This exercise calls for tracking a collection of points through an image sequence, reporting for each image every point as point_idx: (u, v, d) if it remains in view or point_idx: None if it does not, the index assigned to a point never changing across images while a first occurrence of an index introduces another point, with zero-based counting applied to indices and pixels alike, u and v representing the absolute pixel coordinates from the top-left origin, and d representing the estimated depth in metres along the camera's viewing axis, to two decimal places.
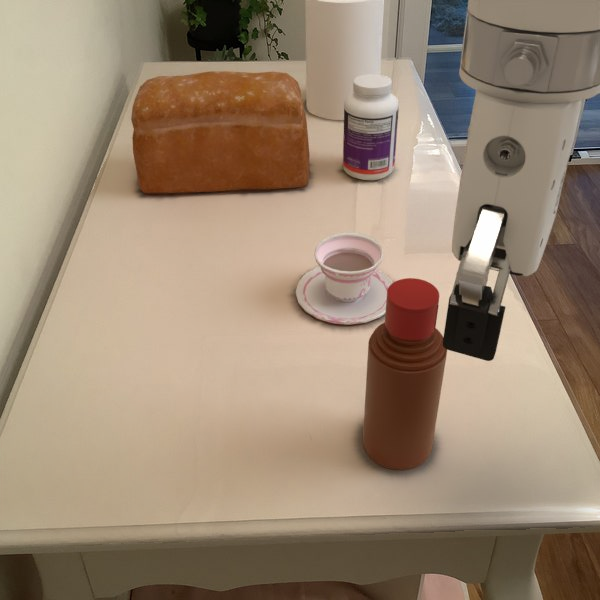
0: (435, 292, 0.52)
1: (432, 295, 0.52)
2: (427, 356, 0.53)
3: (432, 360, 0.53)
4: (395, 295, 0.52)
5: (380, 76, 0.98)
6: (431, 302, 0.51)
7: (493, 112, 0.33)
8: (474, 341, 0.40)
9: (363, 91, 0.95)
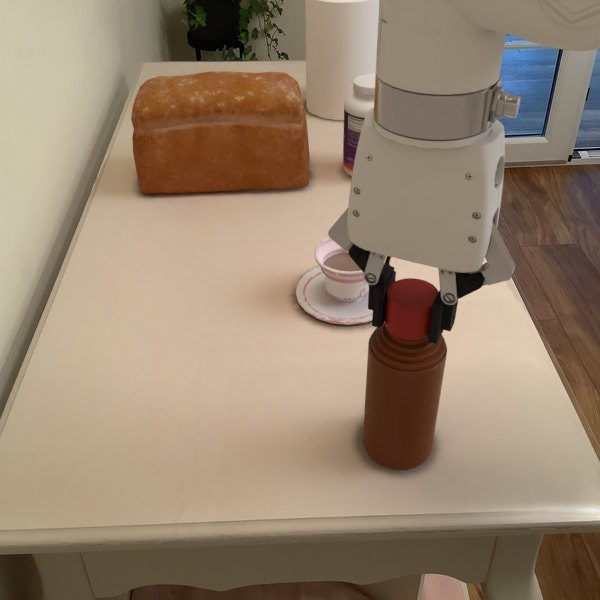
0: (435, 292, 0.52)
1: (432, 295, 0.52)
2: (427, 356, 0.53)
3: (432, 360, 0.53)
4: (395, 295, 0.52)
5: None
6: (431, 302, 0.51)
7: (494, 148, 0.41)
8: (454, 315, 0.52)
9: (363, 91, 0.95)
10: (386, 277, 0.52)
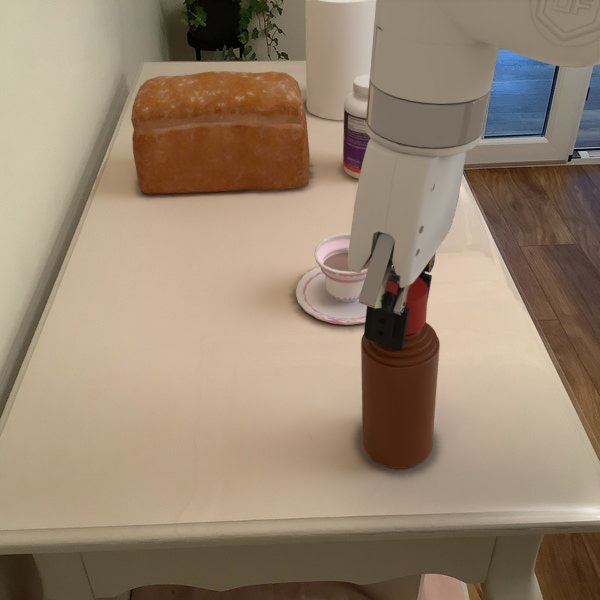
0: None
1: None
2: (419, 351, 0.53)
3: (424, 355, 0.53)
4: None
5: None
6: None
7: None
8: None
9: (363, 91, 0.95)
10: None
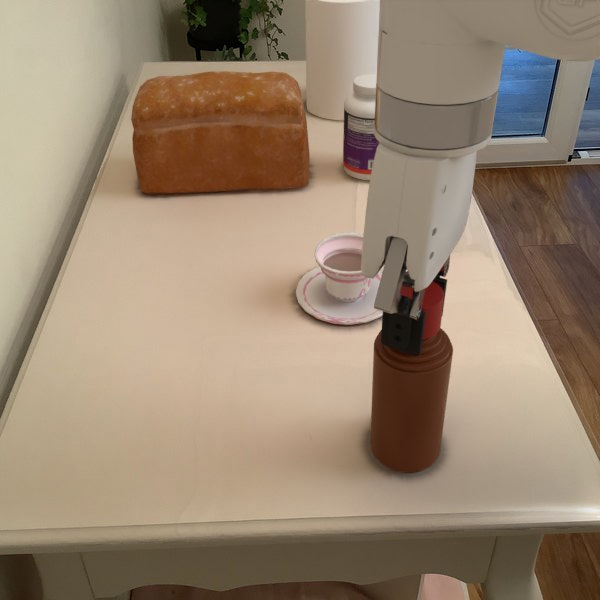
0: None
1: None
2: (433, 356, 0.53)
3: (438, 360, 0.53)
4: None
5: None
6: (431, 283, 0.52)
7: None
8: None
9: (363, 91, 0.95)
10: None
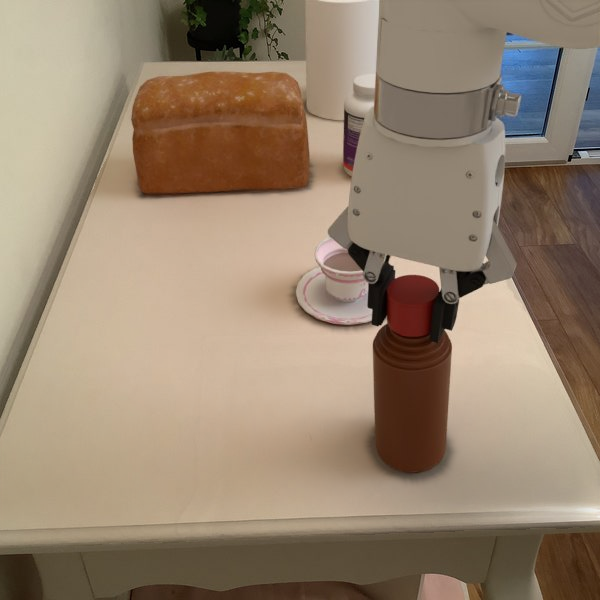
0: (390, 290, 0.52)
1: (393, 287, 0.52)
2: (431, 353, 0.52)
3: (437, 357, 0.53)
4: (430, 287, 0.52)
5: None
6: (396, 280, 0.53)
7: (494, 146, 0.41)
8: (455, 314, 0.52)
9: (363, 91, 0.95)
10: (385, 276, 0.52)
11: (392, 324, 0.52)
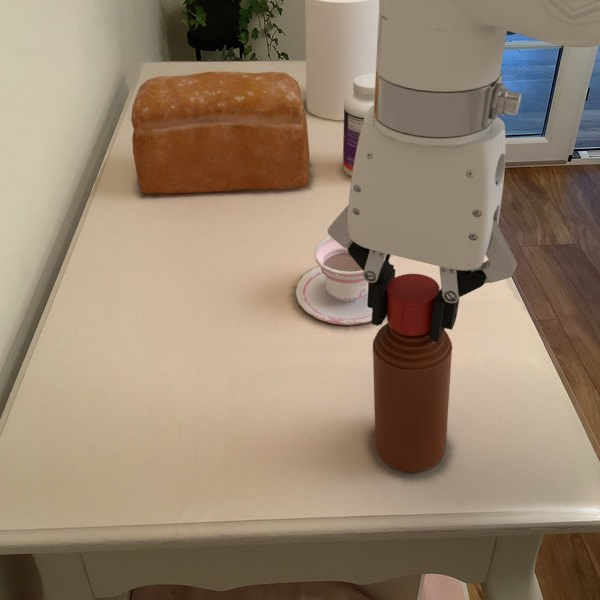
0: (414, 301, 0.50)
1: (409, 299, 0.50)
2: (432, 353, 0.53)
3: (437, 357, 0.53)
4: (409, 278, 0.53)
5: None
6: (397, 297, 0.51)
7: (495, 145, 0.41)
8: (455, 313, 0.52)
9: (363, 91, 0.95)
10: (385, 275, 0.52)
11: (428, 326, 0.52)
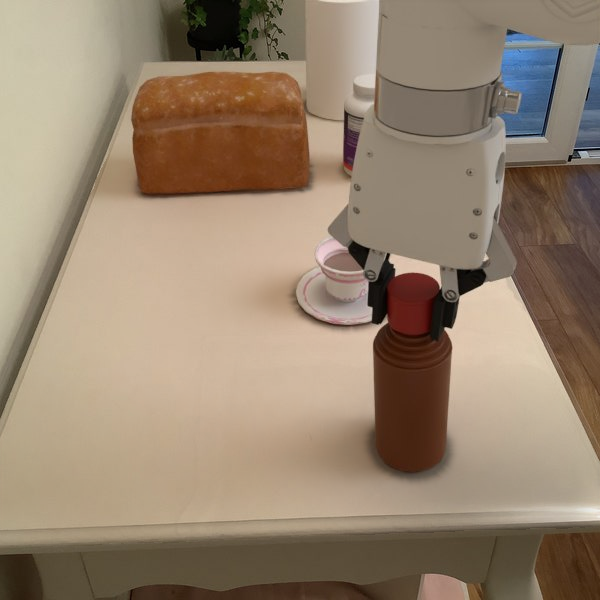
0: (436, 286, 0.51)
1: (432, 289, 0.51)
2: (432, 353, 0.53)
3: (437, 356, 0.53)
4: (394, 288, 0.52)
5: None
6: (430, 295, 0.50)
7: (495, 144, 0.41)
8: (455, 312, 0.52)
9: (363, 91, 0.95)
10: (386, 274, 0.51)
11: None
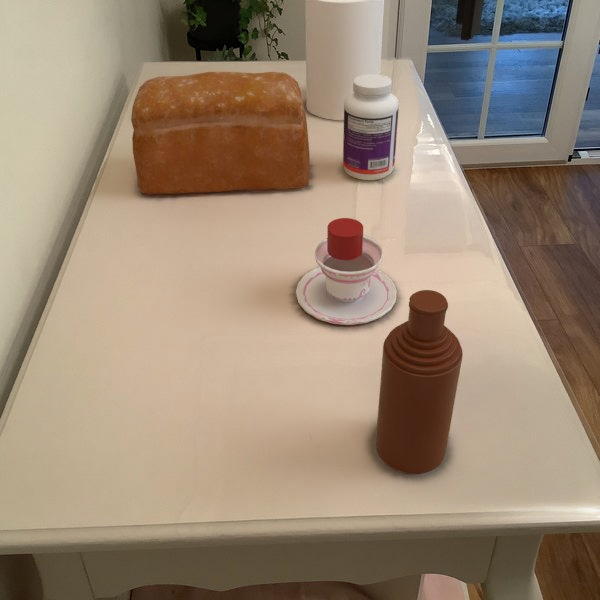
0: (361, 227, 0.75)
1: (358, 229, 0.74)
2: (444, 359, 0.52)
3: (449, 363, 0.53)
4: (332, 227, 0.75)
5: (380, 76, 0.98)
6: (356, 233, 0.74)
7: None
8: None
9: (363, 91, 0.95)
10: None
11: None
